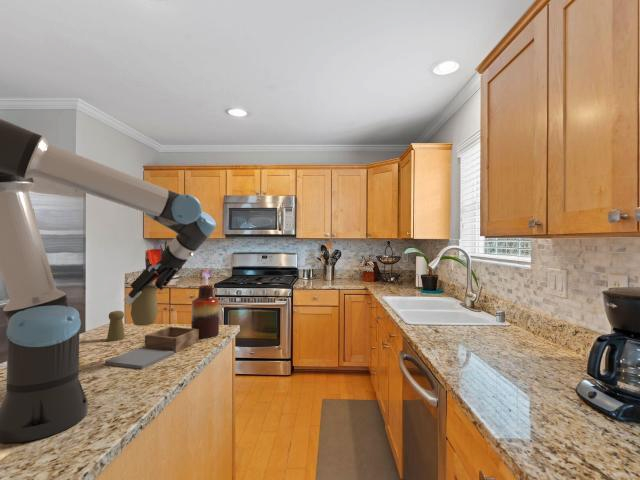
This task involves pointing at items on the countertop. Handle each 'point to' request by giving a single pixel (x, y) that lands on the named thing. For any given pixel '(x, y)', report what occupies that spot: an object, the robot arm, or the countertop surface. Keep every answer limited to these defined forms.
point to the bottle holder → (172, 339)
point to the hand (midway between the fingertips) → (135, 300)
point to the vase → (205, 313)
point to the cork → (116, 326)
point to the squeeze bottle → (145, 306)
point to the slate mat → (139, 358)
